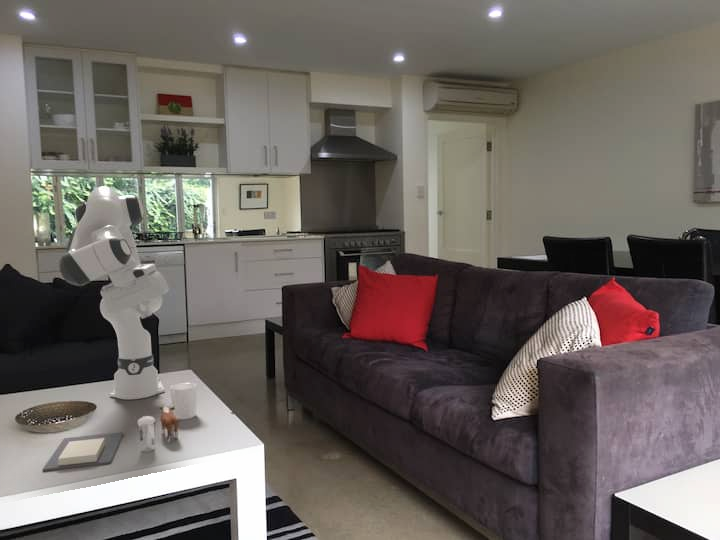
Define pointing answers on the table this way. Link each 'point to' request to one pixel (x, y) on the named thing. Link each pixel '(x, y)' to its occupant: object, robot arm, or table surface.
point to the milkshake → (146, 432)
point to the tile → (81, 451)
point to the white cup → (184, 400)
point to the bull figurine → (169, 421)
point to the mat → (104, 458)
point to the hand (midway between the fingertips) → (147, 316)
